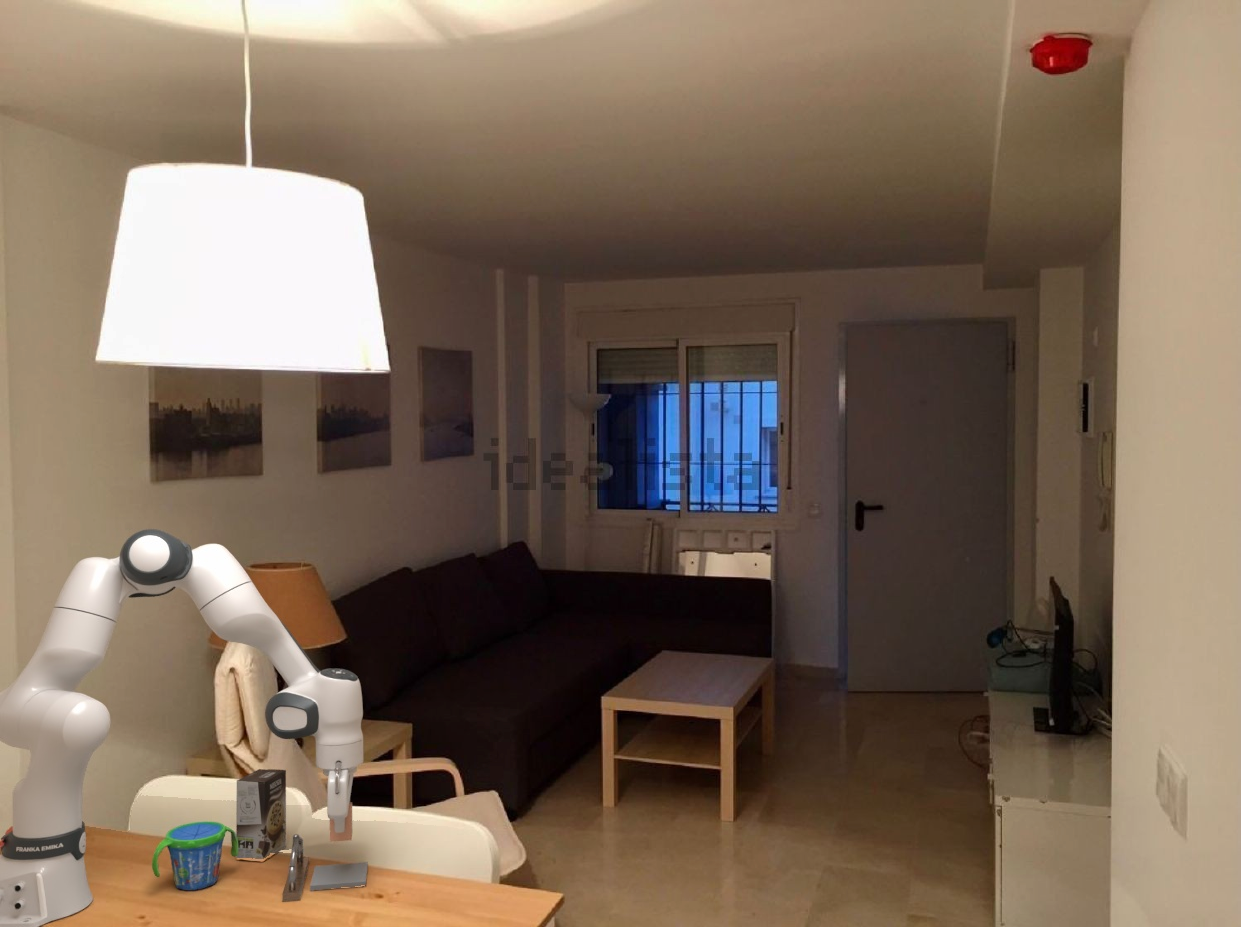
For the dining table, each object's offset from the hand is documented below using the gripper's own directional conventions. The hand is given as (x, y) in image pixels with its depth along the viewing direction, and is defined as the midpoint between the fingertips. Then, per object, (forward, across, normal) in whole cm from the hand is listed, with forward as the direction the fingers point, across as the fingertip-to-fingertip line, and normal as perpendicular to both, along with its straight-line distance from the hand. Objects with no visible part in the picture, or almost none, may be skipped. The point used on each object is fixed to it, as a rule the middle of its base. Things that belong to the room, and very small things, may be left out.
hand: (340, 826), depth 205 cm
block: (+2, 0, 0) cm, 2 cm away
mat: (+10, -1, 0) cm, 10 cm away
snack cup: (+10, +2, +27) cm, 29 cm away
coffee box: (+10, +16, +16) cm, 25 cm away
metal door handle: (+10, -1, +8) cm, 13 cm away
